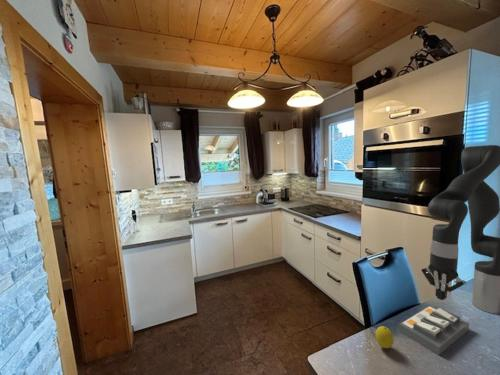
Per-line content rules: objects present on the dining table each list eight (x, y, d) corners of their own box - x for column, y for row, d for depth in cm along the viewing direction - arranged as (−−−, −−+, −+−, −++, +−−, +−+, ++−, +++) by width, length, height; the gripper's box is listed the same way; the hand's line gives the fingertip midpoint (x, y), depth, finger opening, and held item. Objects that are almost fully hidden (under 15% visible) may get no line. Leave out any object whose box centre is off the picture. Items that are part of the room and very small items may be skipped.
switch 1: (421, 324, 86) (421, 321, 86) (440, 331, 80) (439, 328, 80) (416, 327, 84) (416, 324, 84) (435, 334, 79) (434, 331, 79)
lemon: (395, 355, 76) (396, 333, 75) (378, 352, 77) (379, 331, 76) (389, 342, 81) (389, 322, 81) (373, 340, 83) (373, 320, 82)
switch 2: (438, 309, 92) (439, 307, 92) (456, 320, 87) (457, 318, 87) (434, 312, 90) (435, 310, 90) (452, 323, 85) (453, 321, 85)
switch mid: (430, 318, 89) (430, 315, 89) (449, 324, 83) (448, 321, 84) (426, 321, 87) (425, 318, 87) (444, 327, 82) (444, 324, 82)
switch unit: (429, 311, 98) (430, 300, 97) (468, 330, 86) (469, 318, 86) (398, 330, 87) (399, 319, 87) (438, 355, 75) (439, 341, 75)
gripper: (473, 258, 75) (469, 305, 77) (427, 246, 87) (425, 287, 88) (463, 262, 72) (459, 312, 73) (417, 249, 84) (415, 292, 85)
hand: (440, 298), depth 81 cm, fingers closed
